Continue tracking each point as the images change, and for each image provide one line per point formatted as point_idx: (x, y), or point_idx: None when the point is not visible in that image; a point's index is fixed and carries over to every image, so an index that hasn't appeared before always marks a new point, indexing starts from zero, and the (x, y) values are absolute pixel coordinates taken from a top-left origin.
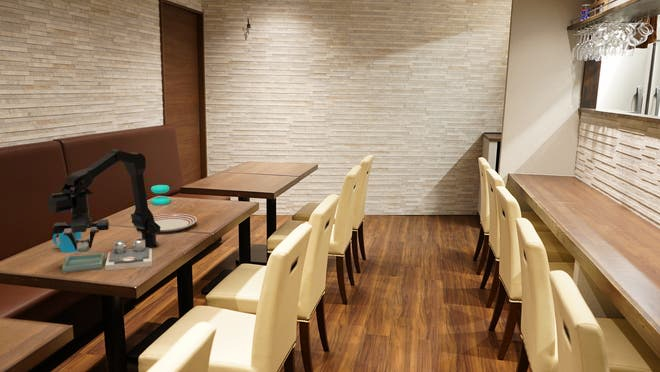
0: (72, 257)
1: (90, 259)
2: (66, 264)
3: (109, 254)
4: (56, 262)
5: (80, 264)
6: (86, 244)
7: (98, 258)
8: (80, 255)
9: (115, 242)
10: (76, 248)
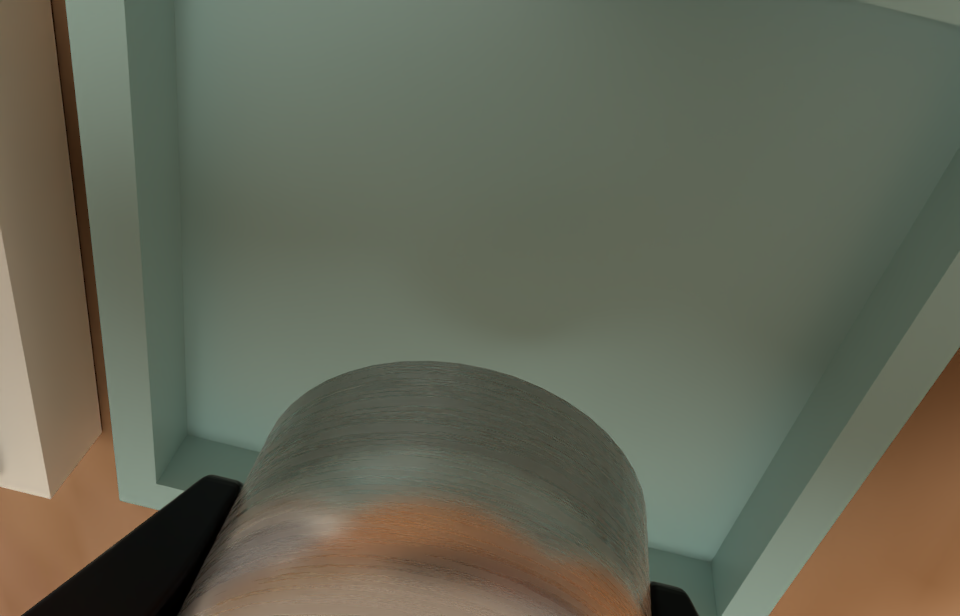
0: None
1: None
2: (920, 278)
3: (4, 387)
4: (904, 605)
5: (591, 255)
6: (257, 584)
7: (245, 410)
8: None
9: None
10: (657, 608)
